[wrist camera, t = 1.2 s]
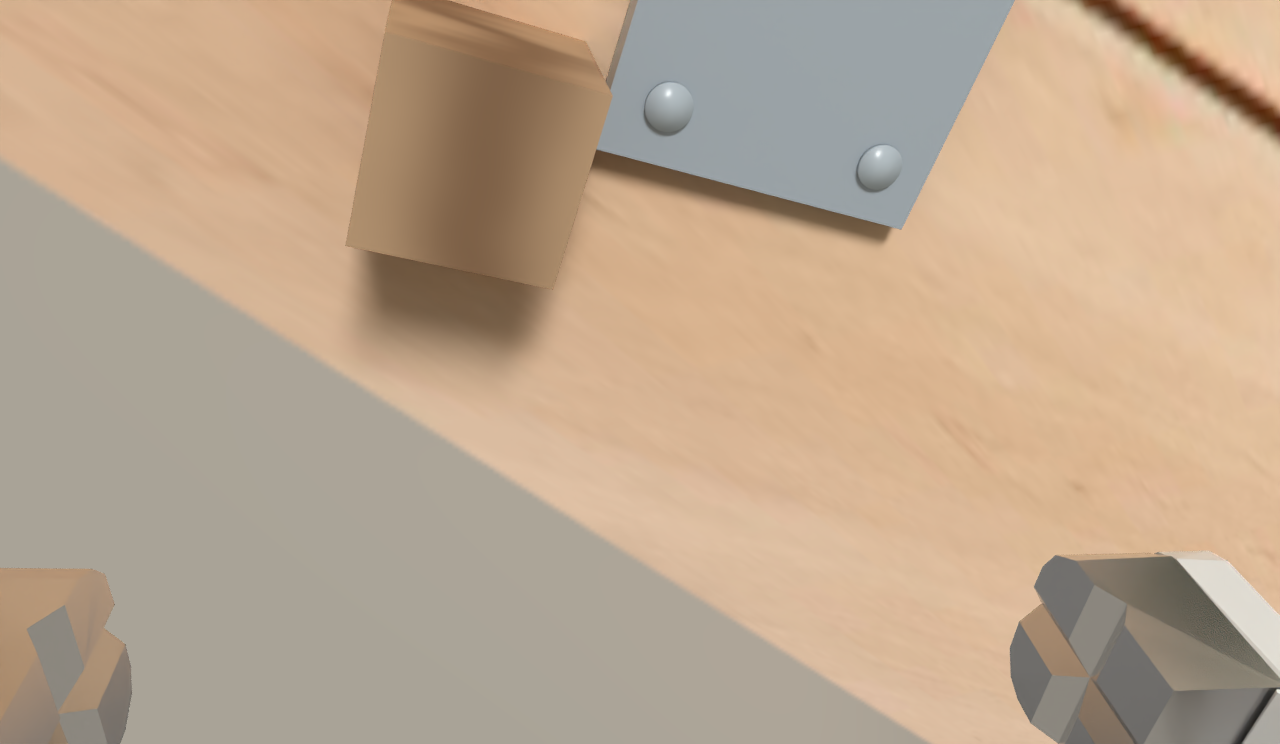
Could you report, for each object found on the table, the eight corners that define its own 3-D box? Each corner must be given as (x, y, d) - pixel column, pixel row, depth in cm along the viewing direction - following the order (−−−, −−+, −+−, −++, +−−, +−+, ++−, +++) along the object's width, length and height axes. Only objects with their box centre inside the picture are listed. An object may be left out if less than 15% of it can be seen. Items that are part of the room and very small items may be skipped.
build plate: (588, 138, 32) (593, 150, 31) (711, -269, 26) (722, -270, 25) (890, 218, 35) (903, 232, 34) (1056, -123, 30) (1077, -119, 29)
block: (361, 168, 31) (345, 246, 26) (395, -16, 28) (385, 31, 23) (536, 210, 33) (552, 289, 28) (585, 41, 30) (612, 95, 25)
